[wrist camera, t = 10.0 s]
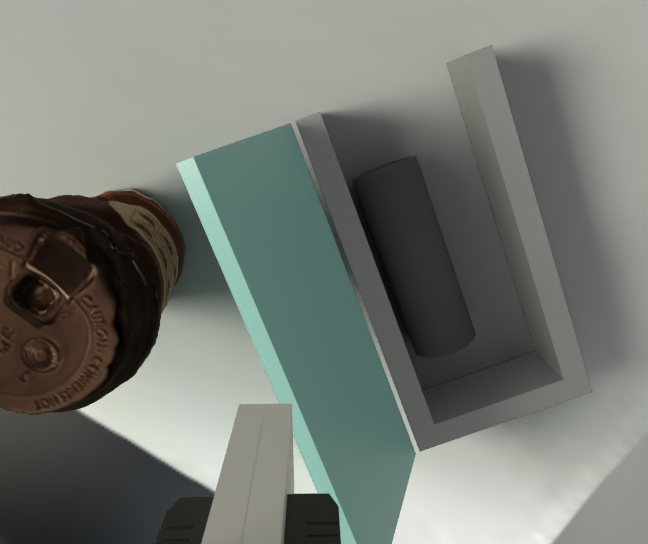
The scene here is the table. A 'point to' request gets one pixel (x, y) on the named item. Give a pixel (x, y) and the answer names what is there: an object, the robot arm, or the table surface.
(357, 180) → the cylinder
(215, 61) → the table surface
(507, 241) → the grey flat bent block
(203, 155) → the cover
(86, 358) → the coffee cup
